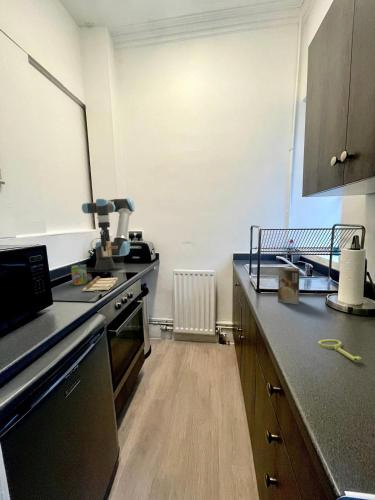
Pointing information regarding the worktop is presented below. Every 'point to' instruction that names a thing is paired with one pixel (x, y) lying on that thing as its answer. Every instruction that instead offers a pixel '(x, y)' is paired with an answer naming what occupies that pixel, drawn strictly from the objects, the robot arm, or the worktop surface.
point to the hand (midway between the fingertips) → (107, 254)
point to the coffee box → (288, 285)
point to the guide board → (100, 284)
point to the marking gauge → (109, 248)
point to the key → (338, 348)
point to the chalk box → (79, 274)
